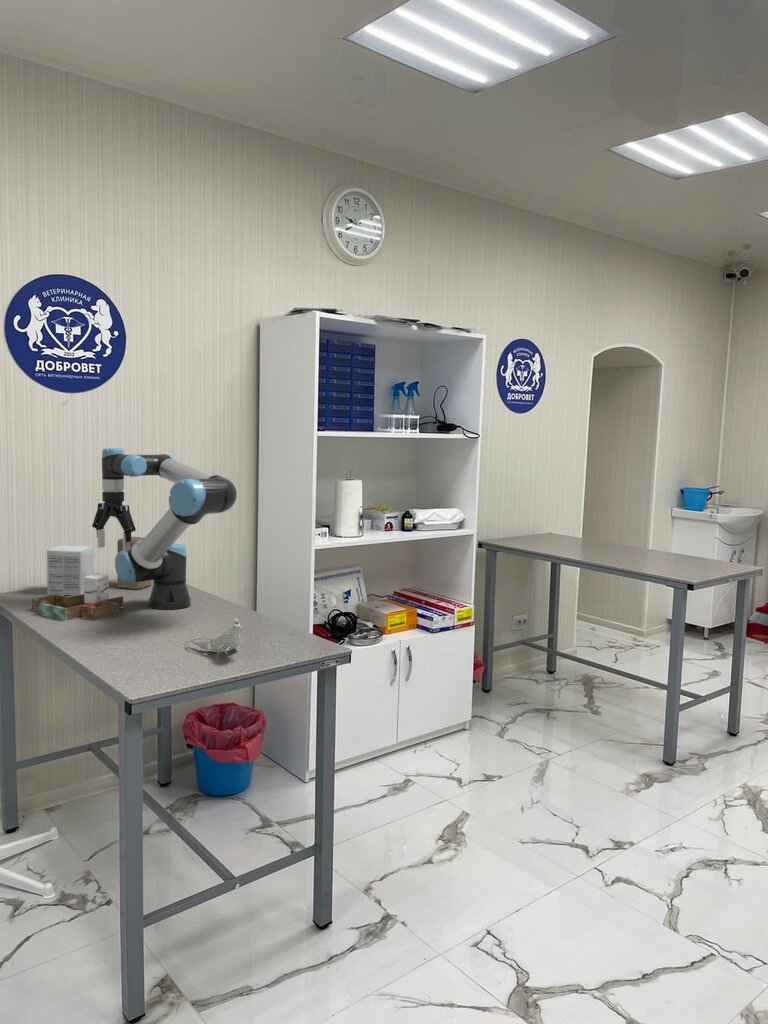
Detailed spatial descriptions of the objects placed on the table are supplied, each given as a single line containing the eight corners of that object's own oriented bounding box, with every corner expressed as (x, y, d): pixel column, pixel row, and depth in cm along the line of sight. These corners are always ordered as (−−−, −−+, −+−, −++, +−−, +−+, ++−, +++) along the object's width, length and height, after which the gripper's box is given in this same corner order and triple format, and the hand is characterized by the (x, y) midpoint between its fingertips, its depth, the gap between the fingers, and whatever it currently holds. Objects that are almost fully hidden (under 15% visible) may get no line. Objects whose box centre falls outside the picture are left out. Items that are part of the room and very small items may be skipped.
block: (116, 588, 316) (116, 539, 314) (131, 583, 326) (131, 536, 324) (138, 590, 313) (138, 541, 311) (152, 586, 323) (152, 537, 321)
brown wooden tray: (136, 610, 281) (136, 599, 280) (79, 624, 260) (79, 612, 259) (84, 599, 295) (84, 589, 294) (25, 611, 274) (25, 600, 273)
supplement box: (61, 588, 313) (60, 544, 311) (94, 589, 313) (93, 546, 311) (46, 595, 300) (46, 550, 298) (81, 596, 300) (80, 551, 298)
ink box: (95, 611, 278) (95, 578, 277) (83, 610, 279) (83, 577, 278) (109, 605, 286) (109, 573, 285) (97, 604, 287) (96, 573, 286)
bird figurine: (232, 638, 249) (259, 597, 232) (239, 665, 245) (267, 625, 228) (183, 644, 240) (207, 601, 223) (190, 671, 236) (214, 630, 219)
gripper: (145, 492, 282) (145, 550, 284) (98, 488, 295) (98, 544, 297) (129, 493, 276) (129, 553, 278) (81, 489, 288) (82, 546, 290)
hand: (113, 549), depth 287 cm, fingers open, 13 cm apart
